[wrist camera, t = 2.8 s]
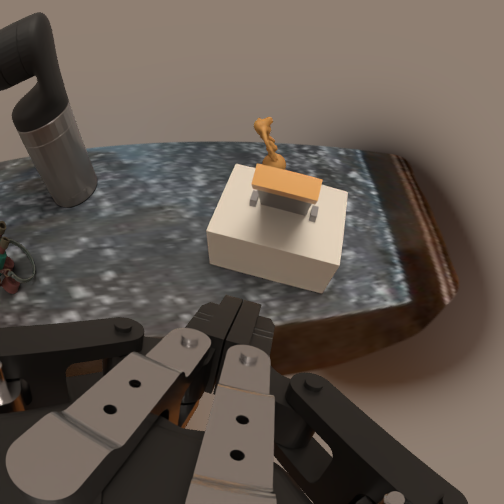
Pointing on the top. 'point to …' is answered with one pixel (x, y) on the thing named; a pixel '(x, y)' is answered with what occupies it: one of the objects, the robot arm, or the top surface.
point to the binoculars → (10, 263)
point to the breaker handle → (286, 189)
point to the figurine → (269, 144)
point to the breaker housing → (277, 235)
